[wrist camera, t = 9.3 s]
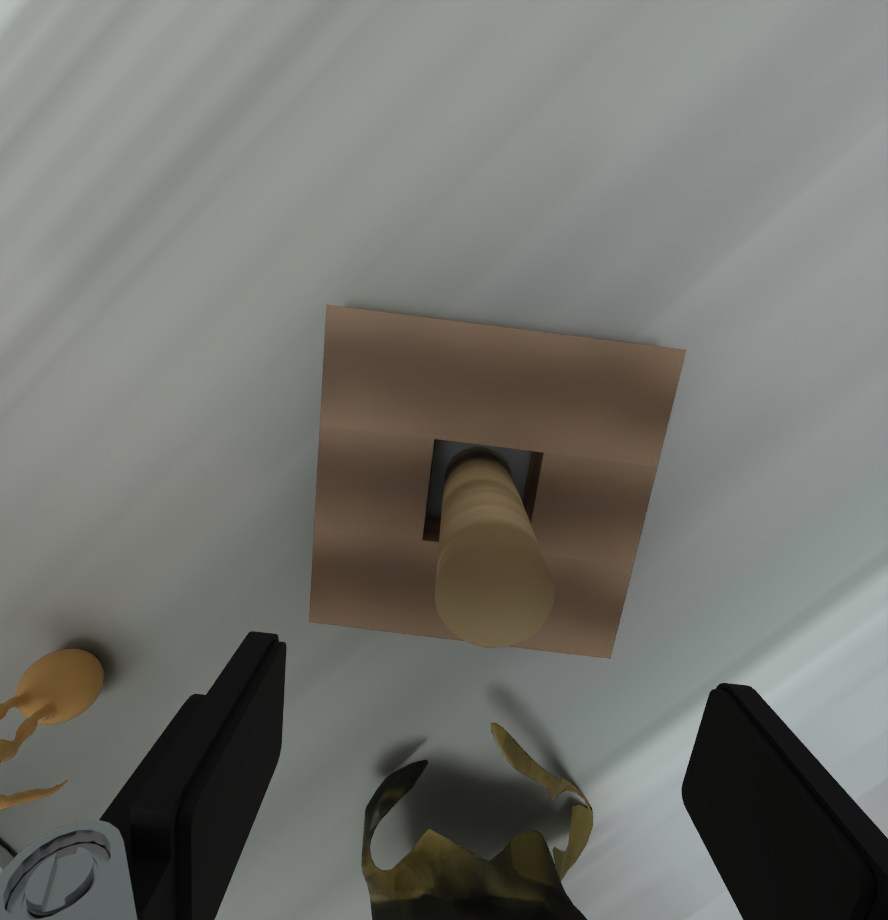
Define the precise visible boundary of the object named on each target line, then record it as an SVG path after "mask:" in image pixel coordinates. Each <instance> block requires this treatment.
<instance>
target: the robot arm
mask: <svg viewBox="0 0 888 920" xmlns="http://www.w3.org/2000/svg"><path fill="white" fill-rule="evenodd" d="M285 664H286V643H285V642H279V638H278V635H277V634H271V633H262V632H253V631H252V632H249V633H248V635H247V636H246V637H245V639H244V640H243V642H242V643H241V645H240V646H239V648H238V649H237V651H236V652H235V654H234V655H233V656H232V658H231V659H230V661H229V662H228V664H227V665H226V667H225V668H224V670H223V671H222V673H221V674H220V675H219V677H218V678H217V680H216V681H215V683H214V684H213V686H212V687H211V689H210V690H209V691H208V693H207V694H206V695H201V694H194V695H192V696H190V697H189V698H188V699H187V701H186V702H185V703H184V704H183V706H182V707H181V708H180V710H179V711H178V713H177V714H176V715H175V717H174V718H173V719H172V721H171V722H170V723H169V725H168V726H167V728H166V729H165V730H164V732H163V733H162V734H161V736H160V737H159V739H158V740H157V741H156V743H155V744H154V745H153V747H152V748H151V750H150V751H149V752H148V754H147V755H146V756H145V758H144V759H143V760H142V762H141V763H140V765H139V766H138V767H137V769H136V770H135V771H134V773H133V774H132V776H131V777H130V778H129V780H128V781H127V782H126V784H125V785H124V787H123V788H122V789H121V791H120V792H119V793H118V795H117V796H116V797H115V799H114V800H113V802H112V803H111V804H110V806H109V807H108V808H107V810H106V811H105V813H104V814H103V815H102V817H101V818H100V819H99V820H85V821H76V822H73V823H70V824H67V825H64V826H61V827H58V828H56V829H54V830H53V831H51V832H49V833H47V834H45V835H43V836H41V837H40V838H38V839H36V840H35V841H34V842H33V843H31V844H30V845H29V846H27V847H26V848H25V849H23V850H22V851H21V852H19V853H18V854H17V856H16V857H15V858H14V857H13V856H12V855H11V854H10V853H9V851H8V850H7V849H5V848H4V847H3V846H2V845H0V920H214V919H215V917H216V915H217V912H218V910H219V907H220V905H221V902H222V900H223V897H224V895H225V892H226V890H227V887H228V885H229V882H230V880H231V877H232V875H233V872H234V870H235V867H236V865H237V862H238V860H239V857H240V855H241V852H242V850H243V847H244V845H245V843H246V840H247V838H248V835H249V833H250V830H251V828H252V825H253V823H254V820H255V818H256V815H257V813H258V810H259V808H260V805H261V803H262V800H263V798H264V795H265V793H266V790H267V788H268V785H269V783H270V780H271V778H272V775H273V773H274V771H275V768H276V765H277V763H278V759H279V756H280V751H281V744H282V725H283V704H284V684H285ZM682 799H683V802H684V805H685V808H686V810H687V812H688V813H689V815H690V817H691V819H692V821H693V823H694V825H695V827H696V829H697V831H698V833H699V835H700V837H701V839H702V841H703V842H704V844H705V846H706V848H707V850H708V852H709V854H710V856H711V858H712V860H713V862H714V864H715V866H716V868H717V870H718V872H719V873H720V875H721V877H722V879H723V881H724V883H725V885H726V887H727V889H728V891H729V893H730V895H731V897H732V899H733V901H734V902H735V904H736V906H737V908H738V910H739V912H740V914H741V916H742V918H743V920H888V838H887V837H886V836H885V835H884V834H883V833H882V832H881V831H880V830H879V828H878V827H877V826H876V825H875V824H874V823H873V822H872V820H871V819H870V818H869V817H868V816H867V815H866V814H865V813H864V812H863V811H862V809H861V808H860V807H859V806H858V805H857V804H856V803H855V801H854V800H853V799H852V798H851V797H850V796H849V795H848V794H847V793H846V791H845V790H844V789H843V788H842V787H841V786H840V785H839V784H838V782H837V781H836V780H835V779H834V778H833V777H832V776H831V775H830V773H829V772H828V771H827V770H826V769H825V768H824V767H823V766H822V765H821V763H820V762H819V761H818V760H817V759H816V758H815V757H814V756H813V754H812V753H811V752H810V751H809V750H808V749H807V748H806V747H805V746H804V744H803V743H802V742H801V741H800V740H799V739H798V738H797V737H796V735H795V734H794V733H793V732H792V731H791V730H790V729H789V728H788V726H787V725H786V724H785V723H784V722H783V721H782V720H781V719H780V718H779V716H778V715H777V714H776V713H775V712H774V711H773V710H772V709H771V707H770V706H769V705H768V704H767V703H766V702H765V701H764V700H763V699H762V697H761V696H760V695H759V694H758V693H757V692H756V691H755V690H754V689H753V688H752V687H750V686H746V685H737V684H728V683H721V684H719V685H718V686H717V688H716V689H713V690H712V691H711V692H710V694H709V697H708V700H707V703H706V707H705V710H704V713H703V717H702V720H701V723H700V727H699V730H698V734H697V737H696V740H695V744H694V747H693V750H692V754H691V757H690V761H689V764H688V767H687V771H686V774H685V777H684V781H683V784H682Z"/></svg>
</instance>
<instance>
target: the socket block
mask: <svg viewBox="0 0 888 920" xmlns="http://www.w3.org/2000/svg"><path fill="white" fill-rule="evenodd" d="M685 353H686V350H682V349H674V348H666V347H658V346H651V345H643V344H635V343H627V342H619V341H611V340H603V339H595V338H587V337H579V336H571V335H563V334H555V333H547V332H539V331H531V330H523V329H515V328H507V327H499V326H492V325H484V324H476V323H468V322H460V321H452V320H444V319H436V318H428V317H420V316H412V315H404V314H396V313H388V312H380V311H372V310H364V309H356V308H348V307H340V306H332V305H327V307H326V325H325V343H324V361H323V379H322V397H321V415H320V433H319V451H318V469H317V487H316V505H315V523H314V541H313V559H312V577H311V595H310V613H309V622H313V623H321V624H330V625H338V626H346V627H354V628H362V629H371V630H379V631H387V632H395V633H403V634H412V635H420V636H428V637H436V638H444V639H453V640H461V641H464V640H463V639H461V638H459V637H458V636H456V635H455V634H454V633H452V632H451V631H450V630H449V629H448V628H447V626H446V625H445V624H444V622H443V621H442V619H441V617H440V616H439V613H438V611H437V607H436V603H435V584H436V572H437V560H438V549H439V537H440V525H441V520H438V519H430V518H426V513H427V505H428V496H429V488H430V480H431V471H432V463H433V454H434V446H435V439H439V440H447V441H455V442H463V443H471V444H479V445H487V446H495V447H503V448H511V449H519V450H527V451H532V453H531V459H530V464H529V470H528V476H527V482H526V487H525V493H524V499H523V505H524V508H525V511H526V513H527V516H528V518H529V521H530V523H531V526H532V528H533V531H534V533H535V536H536V538H537V541H538V544H539V546H540V549H541V551H542V554H543V556H544V559H545V561H546V564H547V566H548V569H549V571H550V574H551V577H552V580H553V584H554V595H555V596H554V603H553V607H552V610H551V613H550V615H549V617H548V619H547V620H546V622H545V623H544V624H543V626H542V627H541V628H540V629H539V630H538V631H537V632H536V633H535V634H533V635H532V636H531V637H529V638H527V639H526V640H524V641H522V642H519V643H517V644H514V645H510V647H518V648H527V649H535V650H543V651H551V652H559V653H568V654H576V655H584V656H592V657H600V658H609V659H610V658H611V654H612V650H613V646H614V642H615V638H616V634H617V630H618V626H619V621H620V617H621V613H622V609H623V605H624V601H625V597H626V593H627V589H628V585H629V581H630V577H631V573H632V569H633V564H634V560H635V556H636V552H637V548H638V544H639V540H640V536H641V532H642V528H643V524H644V520H645V516H646V512H647V507H648V503H649V499H650V495H651V491H652V487H653V483H654V479H655V475H656V471H657V467H658V463H659V459H660V454H661V450H662V446H663V442H664V438H665V434H666V430H667V426H668V422H669V418H670V414H671V410H672V406H673V402H674V397H675V393H676V389H677V385H678V381H679V377H680V373H681V369H682V365H683V361H684V357H685Z"/></svg>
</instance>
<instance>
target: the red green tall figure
mask: <svg viewBox="0 0 888 920" xmlns="http://www.w3.org/2000/svg"><path fill="white" fill-rule="evenodd" d="M491 732H492V734H493V737H494V739H495V742H496V744H497V746H498V747H499V749H500V751H501V752H502V754H503V755H504V757H505V758H506V760H507V761H508V762H509V763H510V764H511V765H512V766H513V767H514V768H515V769H516V770H518V771H519V772H520V773H522V774H523V775H525V776H527V777H529V778H531V779H533V780H535V781H536V782H538V783H539V784H541V785H542V786H544V787H545V788H546V789H547V791H548V792H549V794H550V795H551V800H554V799H555V798H556V797H557V796H558V795H559V794H560V793H562V792H563V791H565V790H568V791H573V792H576V793H577V794H578V795H579V796H581V797H582V798H583V799H584V800H585V802H586V804H587V806H588V809H587V808H585V807H583V806H581V805H576V806H572V814H571V824H570V834H569V843H568V847H567V849H566V851H565V852H564V851H562V850H559V849H557V848H556V847H554V848H553V854H554V860H555V864H554V862H553V859H552V856H551V853H550V851H549V848H548V846H547V843H546V841H545V839H544V837H543V835H542V834H541V833H540V832H537V831H528V830H527V831H525V832H523V833H521V834H519V835H517V836H515V837H513V838H512V840H511V841H510V842H509V843H508V845H507V846H506V847H505V848H504V850H503V851H502V852H500V853H499V854H498V855H497V856H495V857H494V858H493V859H492V860H490V861H488V860H485V859H483V858H481V857H479V856H477V855H476V854H474V853H472V852H471V851H469V850H467V849H465V848H464V847H462V846H460V845H458V844H457V843H455V842H453V841H451V840H449V839H448V838H446V837H444V836H442V835H440V834H438V833H436V832H434V831H432V830H431V829H428V830H427V831H426V832H425V833H424V834H423V836H422V837H421V838H420V839H419V841H418V842H417V844H416V845H415V847H414V848H413V849H412V851H411V852H410V853H409V854H408V855H407V856H406V857H404V858H403V859H402V860H401V861H400V862H399V863H398V864H397V865H396V866H395V867H394V868H393V869H390V870H386V871H385V870H381V869H379V868H378V867H376V866H375V864H374V862H373V861H372V858H371V851H370V844H371V839H372V836H373V833H374V830H375V828H376V827H377V825H378V823H379V822H380V820H381V819H382V818H383V817H384V816H385V815H386V814H387V813H388V812H389V811H390V810H391V808H392V807H393V806H394V805H395V804H396V803H397V802H398V801H399V800H400V799H401V798H402V797H403V796H404V795H405V794H406V793H407V792H408V791H409V790H410V789H411V788H412V787H413V785H414V784H415V782H416V781H417V779H418V778H419V776H420V775H421V773H422V772H423V770H424V768H425V767H426V765H427V764H428V761H427V760H421V761H417V762H414V763H411V764H408V765H406V766H403V767H402V768H400V769H398V770H396V771H394V772H392V773H391V774H390V775H389V776H388V777H387V778H386V779H385V780H384V781H383V782H382V784H381V785H380V786H379V788H378V789H377V790H376V792H375V793H374V795H373V797H372V798H371V800H370V801H369V803H368V805H367V807H366V810H365V821H364V834H363V847H362V871H363V875H364V878H365V880H366V882H367V885H368V890H369V894H370V901H371V910H372V920H587V919H586V918H585V916H584V915H583V914H582V913H581V912H580V911H579V910H578V909H577V908H576V907H575V906H574V905H573V903H572V902H571V900H570V899H569V897H568V896H567V894H566V893H565V891H564V889H563V886H562V884H561V880H562V879H563V877H564V875H565V874H566V872H567V871H568V870H569V869H570V867H571V866H572V865H573V864H574V863H575V862H576V861H577V859H578V857H579V856H580V854H581V853H582V851H583V849H584V848H585V846H586V844H587V842H588V839H589V836H590V833H591V830H592V827H593V812H592V808H591V806H590V804H589V803H588V801H587V800H586V798H585V797H584V796H583V795H582V793H581V792H580V791H579V790H578V789H577V788H576V787H575V786H574V785H572V784H571V783H570V782H568V781H567V780H565V779H562V778H559V777H557V776H554V775H553V774H551V773H550V772H548V771H546V770H545V769H543V768H542V767H541V766H540V765H538V764H537V763H536V762H535V761H534V760H533V759H532V758H531V757H530V756H529V755H528V754H527V753H526V752H525V751H524V750H523V749H522V748H521V747H520V745H519V744H518V743H517V742H516V741H515V740H514V739H513V737H512V736H511V735H510V734H509V733H508V732H507V731H506V730H505V729H504V728H503V727H501V726H500V725H498V724H497V723H491ZM555 865H556V867H555ZM556 870H557V871H556Z"/></svg>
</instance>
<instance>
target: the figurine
mask: <svg viewBox="0 0 888 920" xmlns="http://www.w3.org/2000/svg"><path fill="white" fill-rule="evenodd" d="M103 681H104V672H103V668H102V665H101V663H100V662H99V660H98V659H97V658H96V657H95V656H94V655H92V654H91V653H89V652H87V651H84V650H80V649H63V650H59V651H55V652H52V653H50V654H48V655H46V656H44V657H42V658H40V659H39V660H37V661H36V662H35V663H34V664H32V665H31V666H30V667H29V668H28V670H27V671H26V672H25V673H24V675H23V676H22V678H21V680H20V682H19V684H18V687H17V691H16V697H14V698H11V699H9V700H8V701H6V702H5V703H4V704H0V720H1V719H2V718H4V716H5V715H6V713H7V711H8V710H9V709H10V708H11V707H15V706H16V708H18V709H19V710H20V712H21V713H22V715H23V716H24V717H26V718H27V720H26V721H24V722H23V723H22V724H21V725H20V727H19V728H18V730H17V732H16V737H15V740H14V741H7V740H3V739H0V763H1V762H2V761H8V760H10V759H12V758H13V757H14V756H15V755H16V753H17V751H18V748H19V747H20V745H21V744H22V743H23V741H24V740H25V739H27V738H28V737H29V736H30V735H31V734H32V733H33V732H34V731H35V729H36V726H37V723H38V724H45V725H51V724H58V723H63V722H66V721H68V720H71V719H73V718H75V717H77V716H78V715H80V714H81V713H83V712H84V711H85V710H87V709H88V708H89V707H90V706H91V705H92V704H93V702H94V701H95V700H96V698H97V697H98V695H99V693H100V691H101V689H102V686H103ZM67 781H68V780H66V781H65V782H63V783H62V784H60V785H56V786H55V787H53V788H49V789H35V790H29V791H25V792H20V793H16V794H13V795H11V796H3V795H0V809H6V808H9V807H12V806H14V805H16V804H19V803H26V802H32V801H36V800H39V799H41V798H43V797H46V796H49V795H51V794H52V793H54V792H56V791H57V790H58V789H60V788H61V787H62V786H63V785H64V784H65V783H66V782H67Z"/></svg>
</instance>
